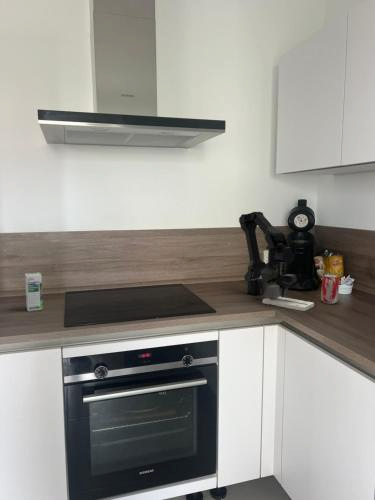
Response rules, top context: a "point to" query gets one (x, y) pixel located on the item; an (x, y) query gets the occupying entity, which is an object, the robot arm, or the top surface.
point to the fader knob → (273, 291)
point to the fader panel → (289, 303)
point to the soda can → (330, 289)
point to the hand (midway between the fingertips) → (273, 295)
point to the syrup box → (34, 291)
